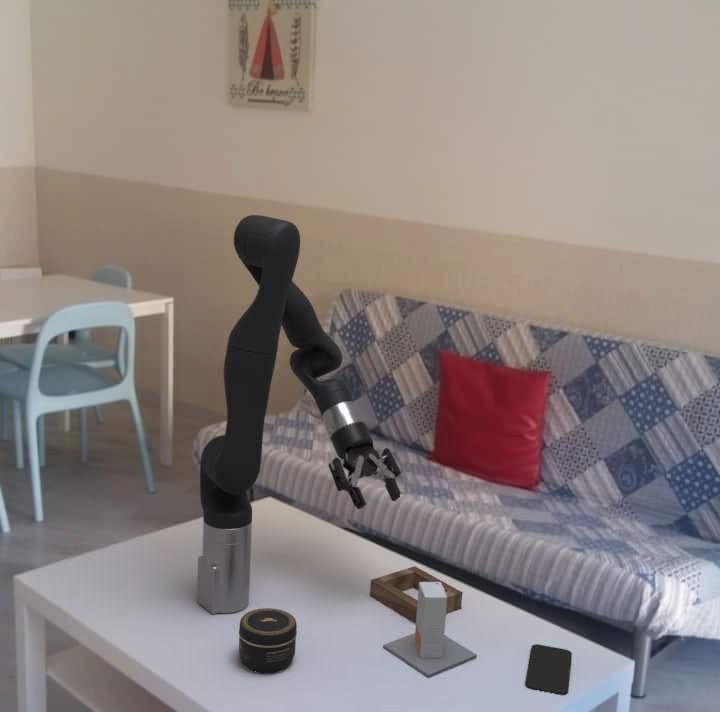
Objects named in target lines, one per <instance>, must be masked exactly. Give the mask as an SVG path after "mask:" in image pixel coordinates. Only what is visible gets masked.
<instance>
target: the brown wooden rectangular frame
mask: <svg viewBox="0 0 720 712" xmlns="http://www.w3.org/2000/svg"><path fill="white" fill-rule="evenodd" d="M419 582H441V583H442V586H443V588H444V590H445V593H446V596H447V606H446V615H447V614H449V613H453V612H455V611H458V610H461V609H462V602H463V601H462V600H463V591H461V590H459V589H457V588H456V587H453V586H452V585H450V584H448V583H447V582H444V581H443V580H441V579H439V578H437V577H435V576H434V575H432V574H430V573H428V572H426V571H425V570H423V569H421V568H419V567H418V566H412V567H411V566H410V567H408V568H403V569H402V570H398V571H394V572H392V573H389V574H385V575H382V576H379V577H376V578H372V579H371V580H370V589H369V596H370V597H371V598H373V599H374V600H376V601H377V602H379V603H380V604H383V606H386V607H387V608H389V609H391V611H394V612H395V613H397V614H399V615H400V616H402V617H403V618H405V619H407V620H409V621H410V622H412V623H413V624H415V625H416V616H417V604H418V599H416V598H415V597H413V596H411V595H409V594H407V593H406V592H404V591H407V590H410V589H414V590H416V591H418V590H419Z"/></svg>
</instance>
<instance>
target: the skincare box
mask: <svg viewBox="0 0 720 712" xmlns="http://www.w3.org/2000/svg"><path fill="white" fill-rule="evenodd" d="M417 591H418V592H417V600H418V604H417V616H416V624H415V631H414V633H415V643H416V646H417V649H418V652H419V656H420V658H442V655H443V643H444V635H445V630H446V616H447V614H446V606H447V596H446V593H445V590H444V588H443V586H442V583H441V582H419V590H417Z"/></svg>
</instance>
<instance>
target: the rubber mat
mask: <svg viewBox="0 0 720 712" xmlns="http://www.w3.org/2000/svg"><path fill="white" fill-rule="evenodd" d="M382 647H383V649H384V650H386V651H387V652H389V654H392V655H393V656H394V657H397V658H398V659H399V660H401V661H402V662H404V663H405V664H406V665H408V666H409V667H411V668H412V669H414V670H416V671H417V672H419V673H420V674H422V675H424V676H425V677H426V678H428V679H429V678H432V677H435V676H436V675H439V674H441V673H444V672H445V671H448V670H451V669H453V668H455V667H458V666H460V665H463V664H466V663H467V662H470V661H472V660H475V659H477V658H478V654H476V653H475V652H473V651H471V649H469V648H466V647H465V646H464V645H462V644H460V643H459V642H457V641H456V640H453V639H452V638H450V637H449V636H447V635H445V634H444V643H443V655H442V658H420V656H419V652H418V649H417V646H416V643H415V632H414V633H411V634H409V635H406V636H404V637H400V638H397V639H395V640H392V641H389V642H387V643H385V644H383V646H382Z"/></svg>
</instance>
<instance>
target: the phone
mask: <svg viewBox="0 0 720 712" xmlns="http://www.w3.org/2000/svg"><path fill="white" fill-rule="evenodd" d="M530 648H531V649H530V652H529V653H530V654H529V657H530V658H528V666H527V670H526V675H525V680H524V681H525V682H524V687H526V688H527V689H529V690H532V689H533V691H537V690H539V692H542V691H544V692H543V693H547V692H549V693H548V694H552V693H554V694H553V695H558V696H567V695H568V694H569V685H570V679H571V678H570V675H571V668H572V655H573V654H572V651H570V650H569V649H565V648H560V647H553V646H550V645H543V644H532V645H531V647H530ZM570 667H571V668H570ZM567 693H568V694H567ZM566 694H567V695H566Z"/></svg>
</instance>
